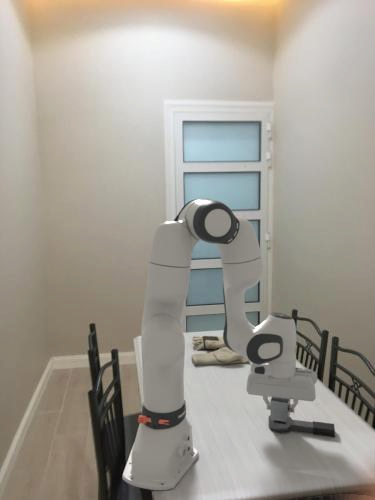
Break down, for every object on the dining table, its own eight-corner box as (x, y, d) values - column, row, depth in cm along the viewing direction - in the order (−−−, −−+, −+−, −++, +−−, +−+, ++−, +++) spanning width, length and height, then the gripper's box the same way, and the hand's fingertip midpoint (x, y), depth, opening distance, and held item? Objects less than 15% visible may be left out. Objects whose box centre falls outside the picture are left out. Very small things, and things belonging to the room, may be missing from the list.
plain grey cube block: (287, 422, 119) (287, 403, 118) (270, 419, 121) (270, 400, 120) (290, 414, 124) (290, 395, 123) (273, 411, 126) (273, 392, 125)
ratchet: (335, 440, 115) (335, 422, 114) (267, 431, 120) (267, 413, 120) (333, 427, 122) (333, 409, 121) (269, 419, 127) (269, 402, 126)
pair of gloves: (192, 342, 199) (191, 332, 198) (244, 341, 198) (244, 331, 198) (191, 367, 169) (190, 355, 168) (252, 366, 168) (252, 354, 168)
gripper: (317, 365, 121) (316, 409, 122) (248, 359, 126) (248, 401, 128) (317, 374, 115) (316, 420, 116) (245, 367, 120) (245, 411, 122)
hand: (280, 410), depth 122 cm, fingers closed on plain grey cube block, 5 cm apart
